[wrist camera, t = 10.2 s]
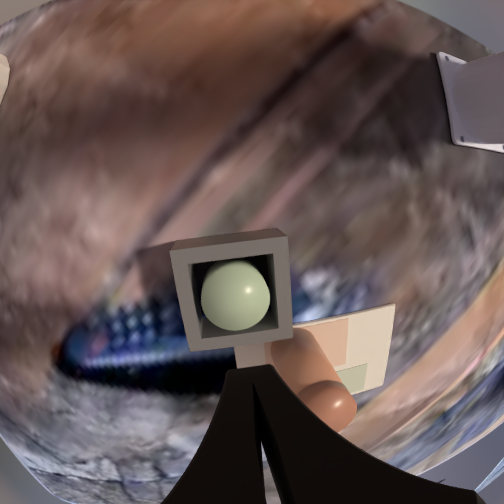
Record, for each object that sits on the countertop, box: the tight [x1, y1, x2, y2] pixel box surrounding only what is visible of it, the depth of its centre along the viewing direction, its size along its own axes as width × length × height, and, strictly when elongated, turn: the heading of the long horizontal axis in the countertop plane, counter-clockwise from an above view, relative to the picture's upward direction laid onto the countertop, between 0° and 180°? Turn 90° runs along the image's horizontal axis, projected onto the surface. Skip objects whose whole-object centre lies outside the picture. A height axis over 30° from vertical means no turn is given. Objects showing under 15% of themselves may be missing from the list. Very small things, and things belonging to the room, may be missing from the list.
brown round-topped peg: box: [270, 328, 357, 432], centre depth 15 cm, size 3×3×7 cm
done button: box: [201, 258, 270, 331], centre depth 16 cm, size 4×4×2 cm
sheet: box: [234, 303, 395, 395], centre depth 20 cm, size 12×8×1 cm, turn 96°
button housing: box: [170, 228, 293, 352], centre depth 16 cm, size 6×6×2 cm
